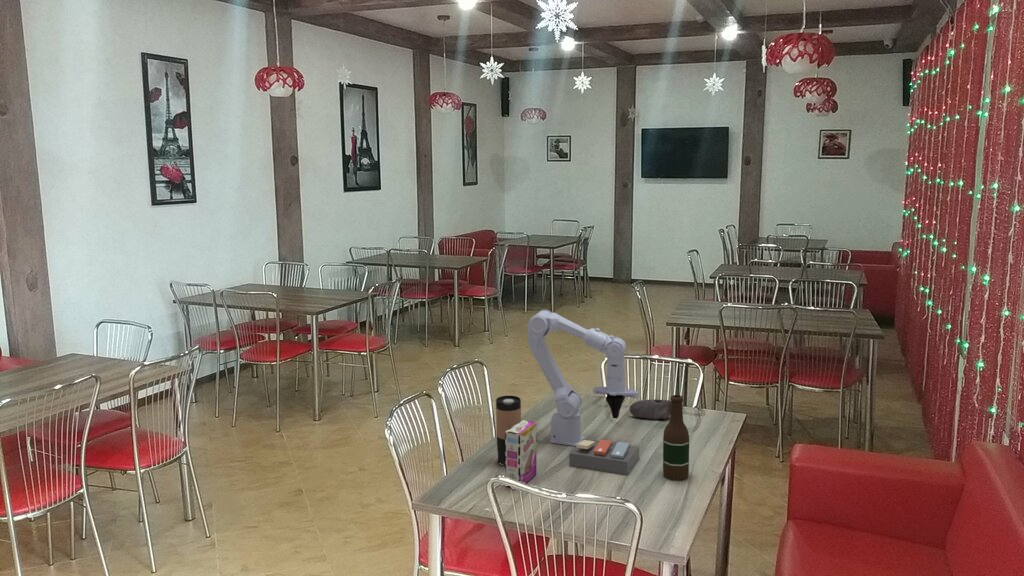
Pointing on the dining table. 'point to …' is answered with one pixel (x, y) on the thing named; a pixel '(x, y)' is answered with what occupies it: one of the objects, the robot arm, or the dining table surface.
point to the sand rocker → (585, 444)
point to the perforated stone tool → (651, 409)
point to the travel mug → (506, 420)
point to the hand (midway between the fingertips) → (615, 417)
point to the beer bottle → (676, 443)
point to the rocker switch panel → (604, 459)
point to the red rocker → (602, 447)
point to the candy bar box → (521, 451)
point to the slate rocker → (620, 450)
